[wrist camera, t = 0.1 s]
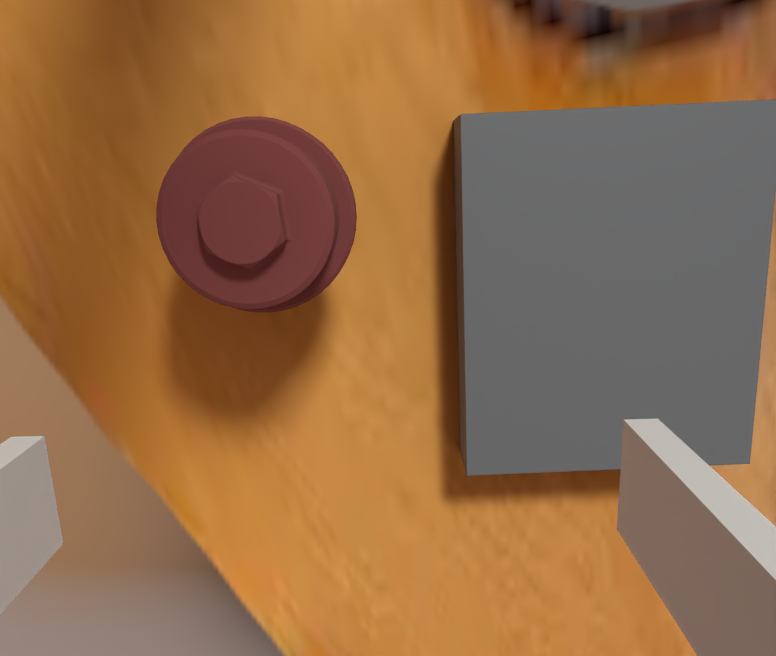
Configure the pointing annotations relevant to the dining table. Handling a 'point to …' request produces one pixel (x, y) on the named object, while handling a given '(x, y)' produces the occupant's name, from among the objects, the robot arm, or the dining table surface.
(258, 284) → the mechanical component
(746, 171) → the plate
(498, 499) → the dining table surface
